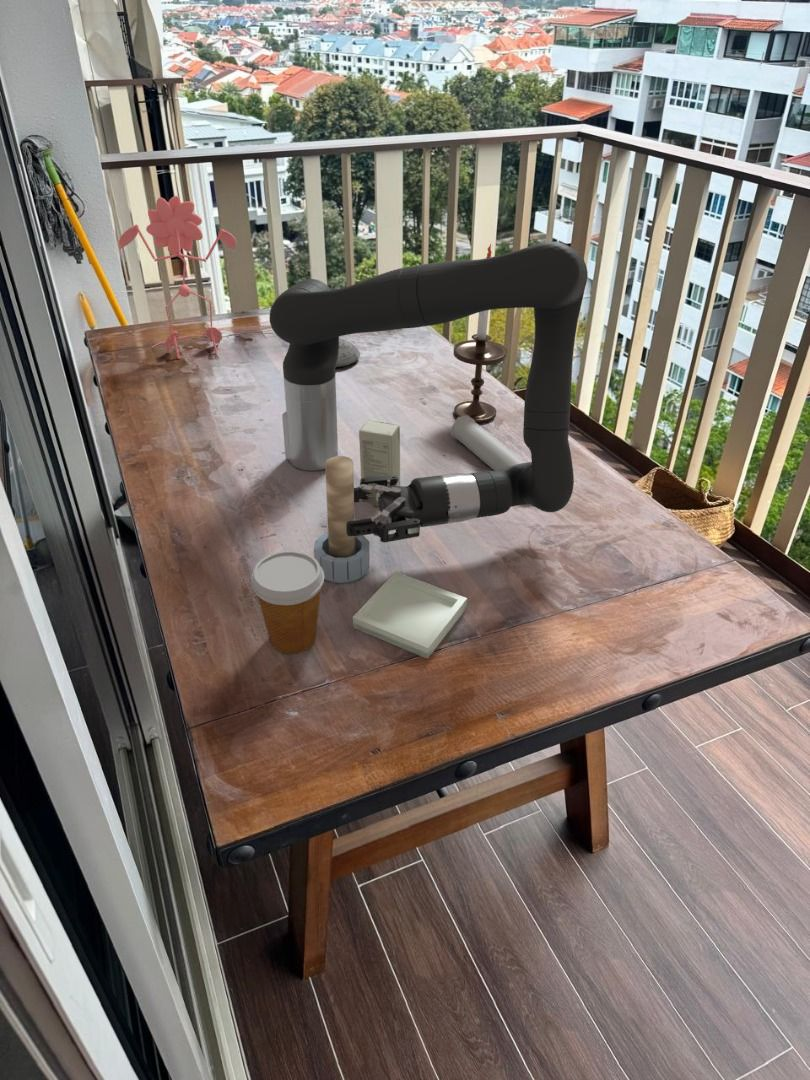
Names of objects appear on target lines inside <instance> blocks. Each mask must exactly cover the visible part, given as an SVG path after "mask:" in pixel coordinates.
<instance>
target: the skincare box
mask: <svg viewBox="0 0 810 1080" xmlns="http://www.w3.org/2000/svg"><path fill="white" fill-rule="evenodd" d="M400 431H401V426H400V424H394V423H389V422H382V421H376V420H375V421H374V420H370V419H369V420H367V421H365V423H364V424H363V425H362V426H361V427H360V428H359V430H358V435H359V437H358V438H359V439H358V440H359V457H360V459H359V461H360V479H361V478H367V477H379V476H390V475H396V476H398V486H401V432H400ZM368 485H369V486H373V487H374V486H375V483H374V484H368ZM381 494H383V493H380V495H381Z"/></svg>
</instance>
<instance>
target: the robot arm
mask: <svg viewBox="0 0 810 1080" xmlns="http://www.w3.org/2000/svg"><path fill="white" fill-rule="evenodd" d="M588 276H589V275H588V267H587V264H586V262H585V259H584V258H583V257H582V255H581V253H579V252H578V251H577V250H576V249H574V248H572V247H571V246H569V245H567V244H566V243H562V242H559V241H545V242H541V243H537V244H534V245H531V246H526V247H524V248H521V249H517V250H514V251H510V252H507V253H503V254H499V255H498V254H497V255H495V256H491V257H490V258H479V259H464V260H463V259H462V260H461V259H460V260H450V261H442V262H441V261H440V262H432V263H424V264H419V265H412V266H406V267H400V268H397V269H393V270H389V271H386V272H383V273H380V274H378V275H377V274H376V275H375V276H372V277H369V278H367V279H364V280H361V281H360V282H357V283H354V284H351V285H349V286H346V287H341V288H337V289H332V288H330V287H329V286H328V285H327V284H326V283H325V282H323V281H321V280H320V279H314V278H307V279H303V280H300V281H298V282H297V283H295V284H293V285H292V286H291V287H289V288H288V289H286V290H285V291H283V292H281V294H280V295H278V296H277V297H276V299H275V300H274V302H273V303H272V305H271V307H270V311H269V324H270V327H271V328H272V331H273V332H274V333H275V334H276V336H278V337H279V338H280V339H281V340H282V341H283V342H286V343H288V344H289V345H288V349H287V351H286V354H285V356H284V358H283V360H282V372H283V386H284V387H283V388H284V398H285V411H284V412H283V413H282V416H281V417H282V418H281V419H282V430H283V441H284V443H283V445H284V455H285V460H287V461H289V462H290V463H291V465H293V467H295V468H296V469H300V470H303V471H309V472H310V471H311V472H312V471H315V472H317V471H323V470H325V462H326V460H327V459H329V458H331V457H335V456H339V446H338V445H339V444H338V442H339V441H338V436H339V435H338V411H337V410H338V409H337V387H336V385H337V383H336V379H337V378H336V367H335V366H336V362H337V359H338V354H339V338H340V337H342V336H343V337H344V336H348V335H353V334H362V333H364V334H365V333H374V332H376V333H377V332H386V331H388V332H389V331H395V330H402V329H405V330H406V329H415V328H421V327H422V328H423V327H432V326H436V325H442V324H445V323H446V324H447V323H449V322H453V321H456V320H460V319H464V318H466V317H469V316H473V315H475V314H477V313H478V314H479V312H482V311H486V310H489V311H492V310H498V309H501V310H503V309H520V308H523V309H525V308H529V309H530V308H532V309H533V314H534V343H533V351H532V358H531V361H530V362H531V363H530V368H529V372H528V377H527V382H526V387H525V395H524V408H523V428H522V429H523V431H522V432H523V433H522V434H523V435H522V436H523V442H524V444H525V445H526V447H527V448H528V449H529V451H530V455H531V456H530V457H531V461H529V462H528V461H527V462H526V463H521V464H517V465H513V466H509V467H506V468H503V469H500V470H497V471H494V470H485V471H478V472H470V473H448V474H441V475H432V476H425V477H417V478H413V479H412V480H411V481H410V483H409V485H407V486H402V485H399V486H398V476H396V475H390V476H379V477H367V478H361V477H360V480H359V481H360V482H359V485H358V486H357V487H354V504H356V503H360V502H362V503H366V504H370V505H371V506H372V507H374V508H377V509H378V511H379V512H380V514H379V515H377V516H376V517H375V518H373V520H372V518H371V517H370V518H363V519H354V521H348V522H347V523H346V532H347V535H348V536H359V535H360V536H361V535H364V536H366V535H373V536H375V537H378V538H380V542H381V543H390V542H395V541H401V540H406V539H412V538H417V537H419V536H420V534H421V532H420V531H421V528H425V527H426V528H427V527H434V526H441V525H447V524H454V523H462V522H465V521H469V520H472V519H480V518H486V517H493V516H498V515H502V514H505V513H506V512H508V511H509V510H510V508H513V507H517V506H523V505H526V506H527V505H529V506H532V507H534V508H536V509H538V510H540V511H542V512H546V513H555V512H558V511H561V510H562V509H563V508H565V507H566V506H567V504H568V503H569V502H570V499H571V497H572V494H573V491H574V485H575V484H574V483H575V476H574V466H573V460H572V459H573V458H572V453H571V452H572V451H571V448H570V441H569V434H570V418H571V417H570V416H571V403H572V402H571V400H572V399H571V398H572V383H573V382H572V380H573V378H572V377H573V364H574V363H573V362H574V361H573V359H574V349H575V341H576V336H577V334H576V333H577V328H578V322H579V319H580V318H579V317H580V312H581V308H582V303H583V299H584V296H585V295H584V294H585V291H586V286H587V283H588V278H589V277H588ZM374 483H375V486H374V487H373V486H369V485H368V484H374ZM381 493H383V494H381ZM370 495H371V496H370ZM391 531H395V532H393V533H389V532H391Z"/></svg>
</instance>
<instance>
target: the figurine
mask: <svg viewBox="0 0 810 1080" xmlns="http://www.w3.org/2000/svg"><path fill="white" fill-rule="evenodd" d="M155 208H156V209H149V210H148V211H147V217H148V218H149V220H150V221H151V223H150V224H149V225H147V226H146V232H147V233H148V234H149V235H150V236H152V237H154V238H155V239H154V246H155V247H157V248H158V249H159V248H166V247H167V251H168V252H169V254H170V255H165V256H161V257H155V255H154V253H153V251H152V249H151V247H150V246H149V244H148V242H147V240H146V238H145V237H144V235H143V233H142V231H141V230H140V228H139V227H140V226H139V225H138V224H134V225H132V226H130V227H129V228H128V229H127V230H125V231H124V232H123V233H121V234H122V235H121V236H120V237H119V240H118V248H119V249H120V250H122V249H123V248H124V247H126V246H127V245H129V244H131V243H132V241H134V240H135V238H136V237H137V236H138V235H139V236H140V238H141V240H142V242H143V243H144V245H145V248H146V249H147V251H148V252H149V254H150V256H151V258H152V259H153V260H154V262H159V261H163V260H168V259H171V258H176V257H177V258H180V259H181V261H182V262H183V270H182V271H183V272H182V273H183V274H182V276H183V277H182V284H181V285H180V286H179V287H178V293H177V294H175V296H174V297H173V298H172V299H171V301H170V302H169V303H168V304H166V306H165V313H166V316H167V319H168V320H167V321H168V324H169V328H170V331H171V332H170V333H169V335H168V336H167V338H166V339H165V340H161V341H159V342H158V343H157V344H154V345H153V346H151V348H154V347H156V346H157V345H159V344H161V343H164V348H165V350H166V351H167V352H168V353H169V352H170V351H171V350H172V349H173V348H174V349H175V352H176V356H177V357H176V358H177V360H178V359H181V356H180V353H179V348H178V344H177V342H178V341H179V339H181V338H188V337H190V335H182V336H180V335H179V332H178V331H176V330H175V331H174V330H173V326H172V323H171V318H170V315H169V311H168V307H169V306H170V305H171V304H172V303H173V302H174V301H175V300H176V298H177V297H179V295H180V296H181V297H183V298H186V297H189V296H190V295H191V294H192V295H195V296H197V297H198V298H201V299H203V300H206V301H208V302H209V315H210V316H209V320H210V327H207V328H206V329H205V334H203V335H202V334H198V335H196V334H195V335H193V337H199V336H200V337H202V336H203V337H206V338H207V339H208V340H209V341H210V342H212V343H213V345H212V346H213V349H214V353H215V354H216V355H217V354H218V350H217V349H218V348H217V346H216V345H219V344H220V343H221V341H222V339H223V333H222V331H221V330H220V329H218V328H217V327H215V326H213V317H212V316H213V315H212V313H213V311H212V301H211V299H209V298H207V297H204V296H202V295H200V294H197V292H193V291H191V289H190V287H189V286H188V285H186V284H185V283H186V281H185V280H186V272H187V261H186V260H185V258H187V259H192V260H196V261H201V262H204V263H207V261H208V259H209V257H210V256H211V254H212V253H213V250H214V249H215V247H216V245H217V244H218V242H219V241H221V243H222V244H224V245H225V246H227V247H229V248H230V249H233V250H234V249H235V248H236V246H237V239H236V237H235V236H234V235H233V234H232V233H230V232H229V231H227V230H224V228H221V229H220V230H219V231H217V237H216V239H215V241H214V242H213V244H212V245H211V248H210V249H209V251H208V253H207V255H206V257H205V258H202V257H199V256H198V257H197V256H193V255H187V254H183V253H182V251H181V250H183V251H185V252H188V253H189V252H191V251H192V250H193V247H194V241H201V240H202V239H203V232H202V230H201V229H200V227H199V226H200V225H201V224H202V223H203V220H202V217H200V216H199V215H198V214H197V213H193V212H194V210H195V204H194V202H192V201H189V200H188V201H182V202H181V198H180V196H178V195H175V196H172V197H170V199H169V200H168V201H167V200H166V199H165V198H163V197H158V198H157V199H156V203H155Z"/></svg>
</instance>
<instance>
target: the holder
mask: <svg viewBox="0 0 810 1080" xmlns="http://www.w3.org/2000/svg"><path fill="white" fill-rule="evenodd" d="M370 547H371V546H370V541H369V539H368V538H367V537H366V535H361V536H360V535H359V536H355V555H353V556H350V557H347V558H335V557H332V556H330V555H329V540H328V532H325V533H323V534H321V535H320V536H319V537H318V538H317V539H316V540H315V541H314V547H313V557H314V558H315V559H316V560H317V561H318V563H319V565H320V566H321V568H322V569H323V571H324V581H327V582H330V583H334V584H349V583H354V582H357V581H359V580H361V579H362V578H364V577H365V576H366V575H367V574H368V572H369V570H370V556H371V555H370V551H371V549H370Z"/></svg>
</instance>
